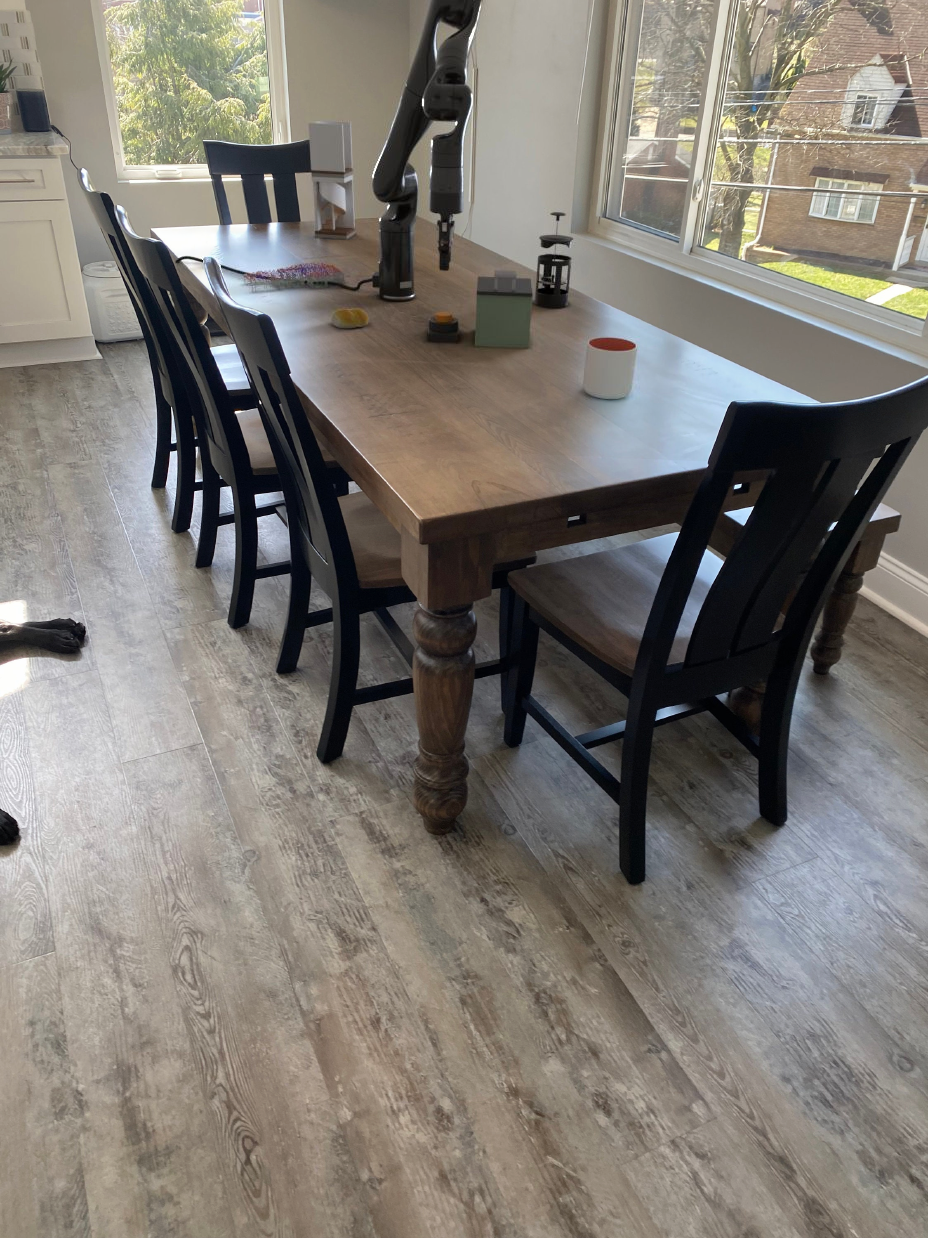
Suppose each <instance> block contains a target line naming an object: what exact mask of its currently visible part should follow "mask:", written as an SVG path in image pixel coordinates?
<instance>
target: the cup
mask: <svg viewBox="0 0 928 1238" xmlns="http://www.w3.org/2000/svg"><path fill="white" fill-rule="evenodd" d="M637 353H638V345H637V343H636V342H634V341H631V340H628V339H624V338H619V337H612V336H611V337H610V336H609V337H608V336H607V337H606V336H605V337H604V336H602V337H594V338H591V339H589V340H587V342H586V350H585V358H584V359H585V360H584V369H583V379H582V389H583V391H584V392H585V394H588V395H589V396H591V397H594V398H597V399H602V400H619V399H623V398H625V397H627V396H629V395H630V393H631V392H632V389H633V384H634V383H633V382H634V381H633V380H634V374H635V367H636V361H637Z"/></svg>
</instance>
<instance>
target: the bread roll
mask: <svg viewBox="0 0 928 1238" xmlns="http://www.w3.org/2000/svg"><path fill="white" fill-rule="evenodd" d="M330 321H331V324H332V325H333V326H335V328H339V329H355V328H364V327H366V326H367V325H368V323H369V321H370V319H369V316H368V313H367V312H366V311H365V310H364V309H362V308H359V307H354V308H349V309H346V308H339V309H335V311H334V312H333V313H332V315H331V320H330Z"/></svg>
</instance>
